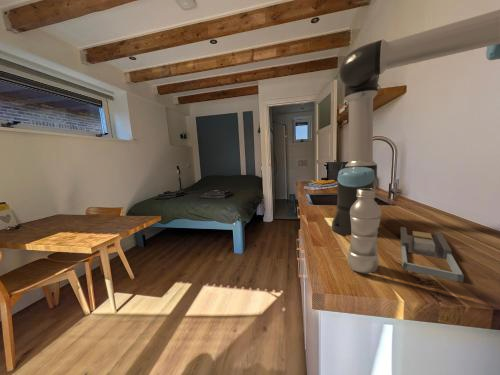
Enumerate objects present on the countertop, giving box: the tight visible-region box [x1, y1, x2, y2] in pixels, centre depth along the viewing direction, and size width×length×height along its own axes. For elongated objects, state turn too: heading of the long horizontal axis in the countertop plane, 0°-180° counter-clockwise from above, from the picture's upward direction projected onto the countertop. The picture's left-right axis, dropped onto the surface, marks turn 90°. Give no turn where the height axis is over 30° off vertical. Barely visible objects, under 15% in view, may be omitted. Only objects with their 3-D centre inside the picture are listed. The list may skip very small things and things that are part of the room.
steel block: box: [413, 237, 435, 254], centre depth 56 cm, size 4×4×3 cm
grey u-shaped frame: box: [400, 246, 465, 283], centre depth 49 cm, size 10×11×2 cm
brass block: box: [411, 230, 434, 243], centre depth 60 cm, size 4×4×3 cm
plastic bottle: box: [346, 188, 382, 275], centre depth 48 cm, size 6×7×20 cm
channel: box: [399, 226, 453, 260], centre depth 59 cm, size 10×15×3 cm, turn 145°
